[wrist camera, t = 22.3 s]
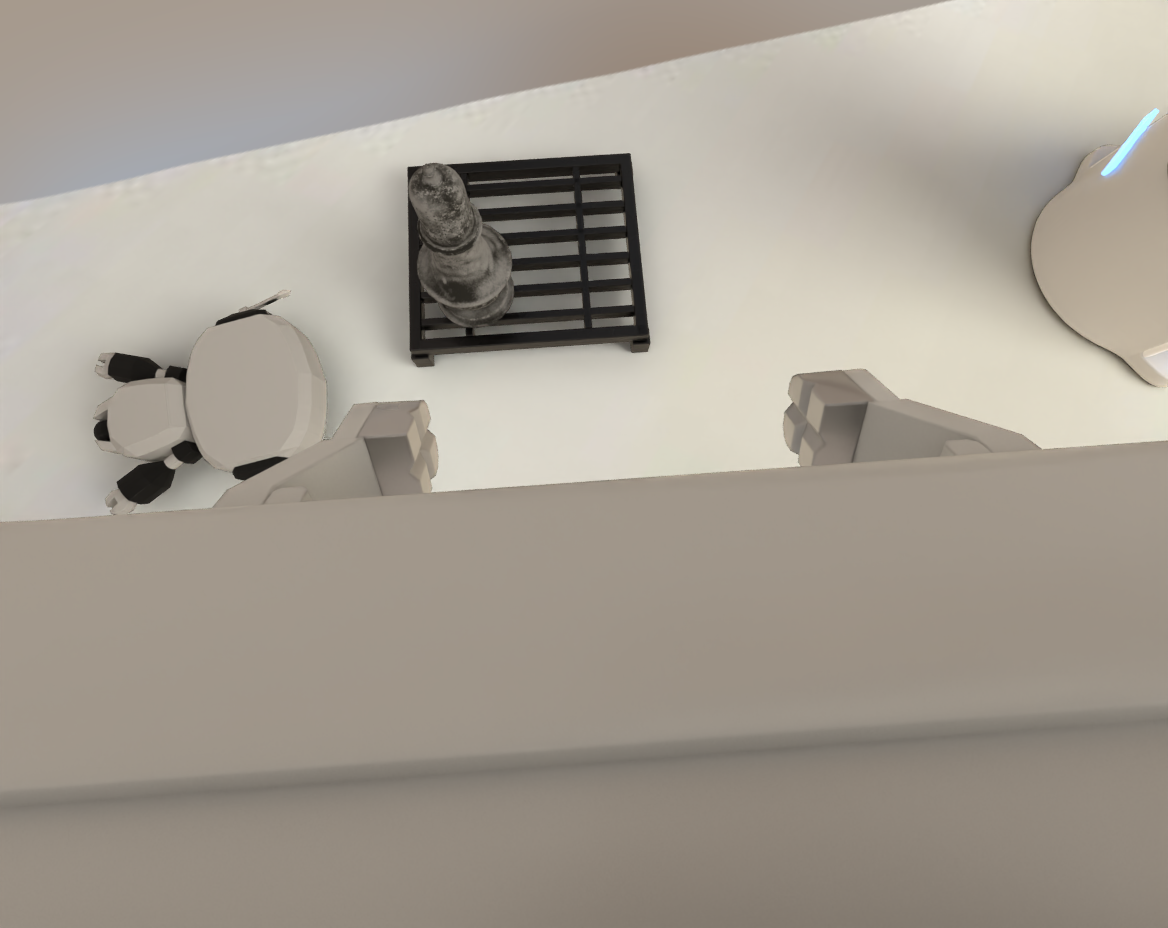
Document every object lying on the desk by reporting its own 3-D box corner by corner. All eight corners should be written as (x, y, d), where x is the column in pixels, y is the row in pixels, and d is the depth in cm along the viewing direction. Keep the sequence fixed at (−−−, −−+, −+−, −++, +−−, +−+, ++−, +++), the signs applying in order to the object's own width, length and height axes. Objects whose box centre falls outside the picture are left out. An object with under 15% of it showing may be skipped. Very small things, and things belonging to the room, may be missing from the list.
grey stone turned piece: (493, 238, 39) (453, 91, 27) (534, 306, 38) (511, 185, 26) (417, 276, 38) (342, 144, 26) (456, 347, 37) (397, 242, 25)
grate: (630, 174, 42) (633, 150, 40) (647, 352, 40) (652, 337, 37) (414, 188, 42) (404, 164, 40) (417, 367, 39) (406, 353, 37)
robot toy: (144, 530, 38) (355, 475, 38) (80, 525, 34) (318, 464, 33) (129, 364, 40) (327, 312, 40) (67, 340, 36) (290, 280, 35)
